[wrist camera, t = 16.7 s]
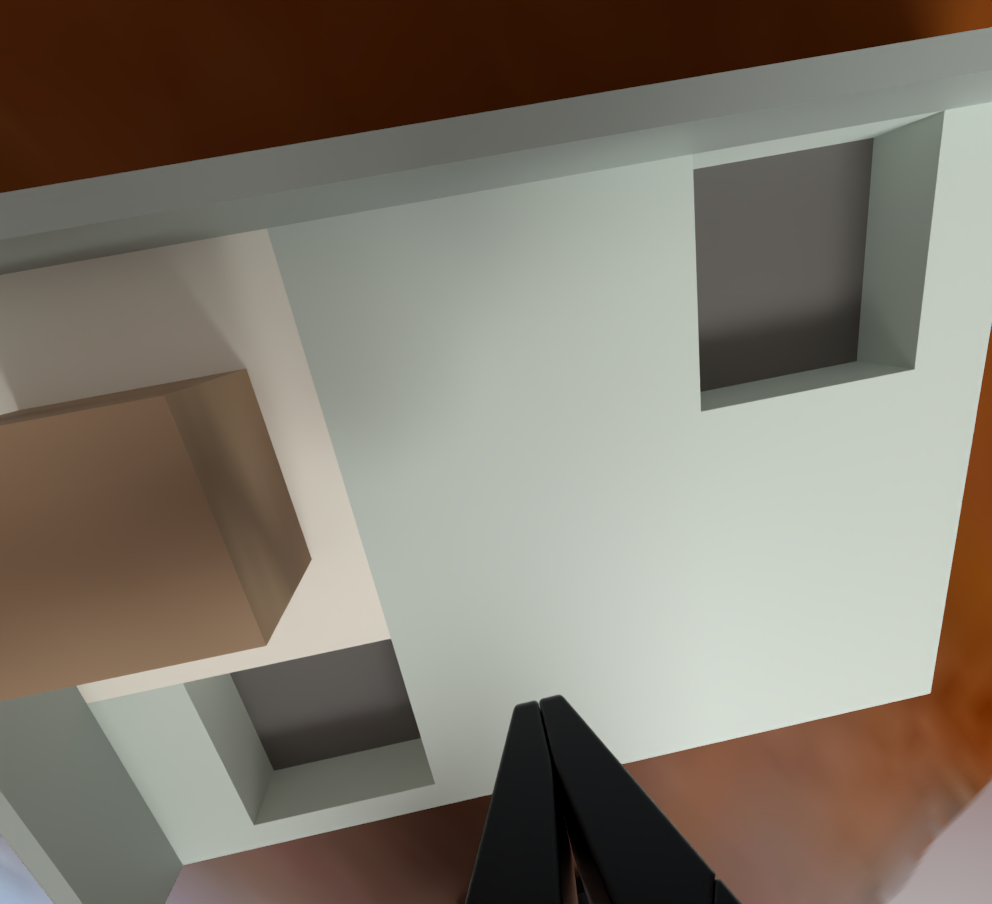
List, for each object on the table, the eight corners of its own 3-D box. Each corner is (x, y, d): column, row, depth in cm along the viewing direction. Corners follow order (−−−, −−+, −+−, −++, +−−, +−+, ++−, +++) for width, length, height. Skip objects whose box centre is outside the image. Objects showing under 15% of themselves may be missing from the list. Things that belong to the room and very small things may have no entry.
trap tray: (878, 651, 18) (1014, 761, 14) (195, 805, 17) (110, 977, 12) (942, 100, 12) (1212, -10, 8) (-91, 280, 11) (-434, 265, 7)
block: (311, 559, 12) (266, 645, 9) (116, 599, 12) (1, 701, 9) (246, 368, 10) (164, 395, 7) (18, 410, 10) (-162, 455, 7)
